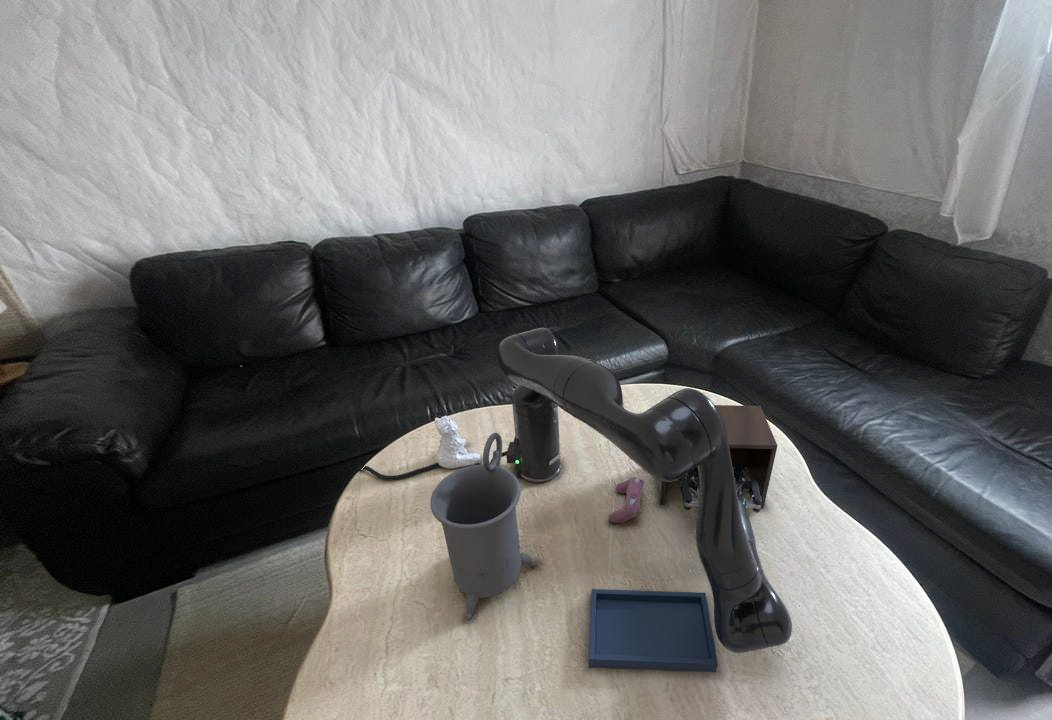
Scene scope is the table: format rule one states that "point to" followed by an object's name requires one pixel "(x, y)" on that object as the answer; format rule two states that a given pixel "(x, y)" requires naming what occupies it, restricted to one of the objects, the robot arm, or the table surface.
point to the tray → (651, 631)
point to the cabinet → (746, 445)
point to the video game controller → (628, 500)
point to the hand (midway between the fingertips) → (713, 467)
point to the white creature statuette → (452, 446)
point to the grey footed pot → (481, 526)
